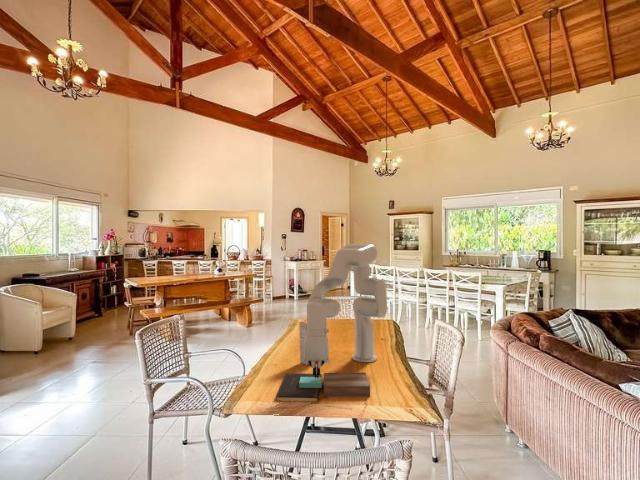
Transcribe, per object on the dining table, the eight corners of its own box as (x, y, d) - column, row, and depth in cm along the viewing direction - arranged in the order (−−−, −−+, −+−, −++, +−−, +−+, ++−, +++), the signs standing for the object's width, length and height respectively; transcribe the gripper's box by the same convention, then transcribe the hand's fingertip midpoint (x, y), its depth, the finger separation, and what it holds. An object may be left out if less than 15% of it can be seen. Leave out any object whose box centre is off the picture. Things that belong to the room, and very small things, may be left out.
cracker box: (319, 356, 185) (319, 316, 185) (327, 359, 180) (327, 318, 180) (299, 363, 175) (298, 321, 175) (307, 366, 171) (307, 323, 170)
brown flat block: (323, 382, 152) (323, 372, 152) (365, 381, 152) (365, 372, 151) (324, 396, 138) (323, 386, 138) (370, 396, 138) (370, 386, 137)
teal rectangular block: (300, 381, 148) (300, 376, 148) (322, 381, 148) (321, 377, 148) (299, 387, 142) (299, 382, 142) (321, 387, 142) (321, 382, 142)
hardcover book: (276, 402, 135) (276, 396, 135) (286, 378, 158) (286, 373, 158) (317, 403, 134) (317, 397, 134) (321, 378, 157) (321, 373, 157)
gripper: (334, 329, 148) (334, 373, 148) (298, 329, 148) (298, 373, 148) (334, 334, 141) (335, 380, 141) (297, 334, 141) (297, 380, 141)
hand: (316, 376), depth 145 cm, fingers closed
